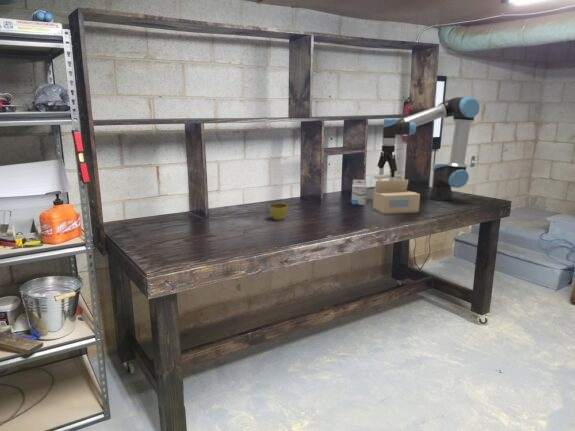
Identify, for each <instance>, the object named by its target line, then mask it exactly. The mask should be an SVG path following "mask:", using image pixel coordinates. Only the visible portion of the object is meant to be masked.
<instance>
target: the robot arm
mask: <svg viewBox="0 0 575 431" xmlns="http://www.w3.org/2000/svg"><path fill="white" fill-rule="evenodd" d="M479 111H480V103H479V101H478V100H477V99H476V98H474V97H472V96H471V97H470V96H460V97H459V96H457V97H456V96H455V97H453V98H450V99H447V100H445V101H442V102H440V103H438V104H437V105H436V106H434V107H430V108H428V109H425V110H422V111H420V112H417V113H414V114H412V115H409V116H406V117H403V118H400V119H397V118H393V117H392V118H391V117H390V118H389V117H388V118H387V117H386V118H384V119H383V126H382V139H381V142H382V146H381V152H380V156H379V160H378V162H377V166H376V167H378V168H379V169H378V175H385V174H384V173H385V172H384V171H385V165H386V162H387V163H388V167H389V169H390V170H389V175H390V177H389V178H388V180H395V178H394V175H396V174H395V172H397V171H398V167H397V166H398V165H397V160H396V154H394V153H395V148H396V146H395V145H396V136H398V135H399V136H411V135H415V134H416V131H417V127H419V126H422V125H424V124H428V123H430V122H433V121H435V120H438V119H446V118H448V117H449V118H451V117H453V122H454V130H453V138H452V144H451V151H450V157H449V162H448V163H436V164H435V165H434V167H433V175H432V177H433V178H432V184H431V186H432V187H431V188H430V191H429V193H428V199H430V200H433V201H439V202H440V201H441V202H447V201H448V202H450V201H453V199H454V195H453V191H452V188H456V189H458V188H459V189H460V188H462V187H464V186H465V185H466V184H467V182H468V181H469V178H470V176H469V173H468V171H467V165H466V163H465V161H466V156H467V148H468V141H469V137H470V136H469V135H470V128H471V124H472V123H473V122H474V120H475V117H476V116H477V115H478V114H479ZM383 179H384V178H381V180H383Z"/></svg>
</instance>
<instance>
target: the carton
mask: <svg viewBox="0 0 575 431" xmlns="http://www.w3.org/2000/svg"><path fill="white" fill-rule="evenodd" d="M372 200H373V201H372V209H373V210H374V211H376V212H377V213H380V214H382V215H397V214H399V215H400V214H401V215H402V214H415V213H419V211H420V202H421V194H420V193H419V192H415V191H410V190H405V191H382V192H374V191H373V199H372Z"/></svg>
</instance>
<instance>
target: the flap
mask: <svg viewBox="0 0 575 431" xmlns="http://www.w3.org/2000/svg"><path fill="white" fill-rule="evenodd" d="M389 177H390V174H383V175H379V174H377V175H376V174H375V175H374V177H373V178H374V179H375V185H374V189H373V193H374V192H386V191H407V189H408V184H409V181H410V180H409V179H404V178H403V176H402V174H394V180H389ZM381 178H383V179H385V180H383V179H381ZM386 179H387V180H386Z"/></svg>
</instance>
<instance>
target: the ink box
mask: <svg viewBox="0 0 575 431" xmlns="http://www.w3.org/2000/svg"><path fill="white" fill-rule="evenodd" d="M367 187H368V186H367V180H366V179H352V185H351V200H350V203H351V205H357V206H359V205H361V206H365V205H366V203H367V201H366V200H367V199H366V198H367Z"/></svg>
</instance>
